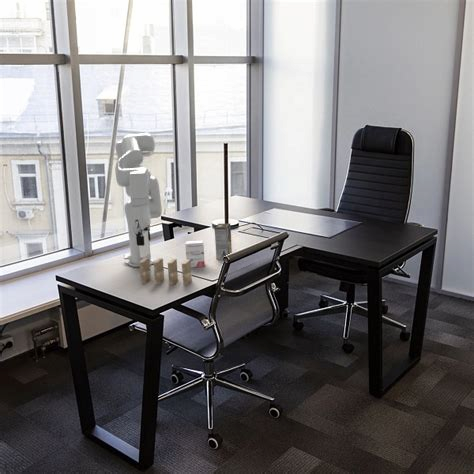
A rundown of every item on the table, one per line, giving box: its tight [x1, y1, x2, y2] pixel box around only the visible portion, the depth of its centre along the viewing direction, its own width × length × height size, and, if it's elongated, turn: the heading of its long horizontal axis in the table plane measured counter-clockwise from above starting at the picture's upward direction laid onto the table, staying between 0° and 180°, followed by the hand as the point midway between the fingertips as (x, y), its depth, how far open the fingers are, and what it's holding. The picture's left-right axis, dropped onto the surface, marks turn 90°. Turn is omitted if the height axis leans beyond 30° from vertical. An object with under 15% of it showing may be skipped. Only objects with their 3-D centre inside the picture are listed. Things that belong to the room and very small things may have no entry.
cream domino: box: [139, 231, 151, 258], centre depth 250 cm, size 2×6×10 cm, turn 166°
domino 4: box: [181, 258, 193, 287], centre depth 259 cm, size 2×6×10 cm, turn 166°
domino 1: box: [139, 258, 152, 284], centre depth 264 cm, size 2×6×10 cm, turn 166°
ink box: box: [184, 240, 206, 268], centre depth 282 cm, size 8×5×12 cm, turn 96°
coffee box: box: [214, 223, 233, 260], centre depth 293 cm, size 9×6×16 cm
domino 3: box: [167, 258, 179, 286], centre depth 261 cm, size 2×6×10 cm, turn 166°
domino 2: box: [153, 258, 165, 285], centre depth 263 cm, size 2×6×10 cm, turn 166°
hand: (143, 242), depth 250 cm, fingers closed on cream domino, 5 cm apart
